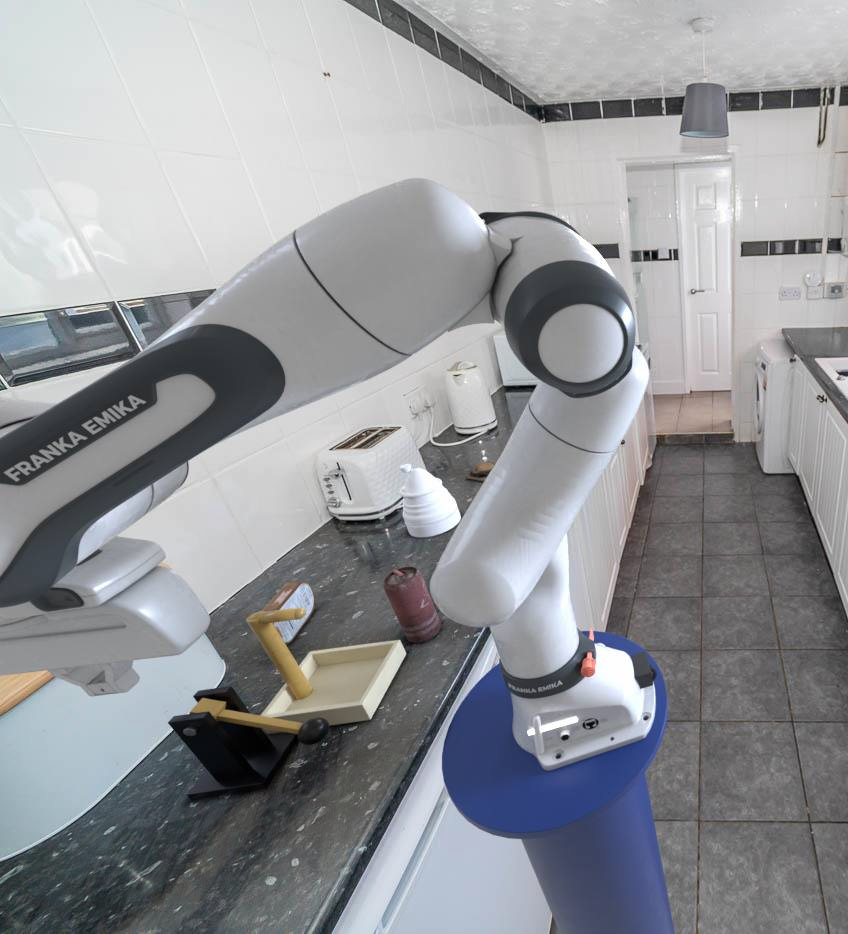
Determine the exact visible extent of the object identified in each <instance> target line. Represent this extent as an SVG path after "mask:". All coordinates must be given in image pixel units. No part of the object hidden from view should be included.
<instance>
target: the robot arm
mask: <svg viewBox="0 0 848 934" xmlns="http://www.w3.org/2000/svg"><path fill="white" fill-rule="evenodd" d="M495 321H496V322H498V323H499V324H500V325H501V327H502V329H503V331H504V332H505V337H506V340H507V341H506V342H507V343H508V346H509V348H510V350H511V352H512V353H513V354H514V356H515V357H516V358H517V360H518V361H519V362H520V363H521V365H522V366H523V367H524V368H525V369H526V370H527V371H528V372H529V373H530V374H531V375H532V376H533V377H535V378H537V379H538V380H539V381H538V383H537V384H536V386H535V388H534V390H533V392H532V393H531V396H530V397H529V399H528V402H527V403H526V406H525V407H524V410H523V411H522V414H521V415H520V417H519V419H518V421H517V423H516V425H515V427H514V429H513V431H512V433H511V435H510V436H509V439H508V441H507V443H506V445H505V446H504V449H503V450H502V452H501V454H500V456H499V457H498V458H497V461H496V462H495V463H494V464H495V466H494V467H493V469H492V470H491V472H490V473H489V475H488V477H487V478H486V480H485V481H483V483H482V485H481V486H480V488H479V490H478V491H477V493H476V494H475V496H474V498H473V499H472V501H471V502H470V504H469V506H468V508H467V510H466V511H465V513H464V515H463V517H461V519H460V521H459V523H458V524H457V527H456V528H455V530H454V532H453V534H452V535H451V537H450V539H449V541H448V542H447V544H446V546H445V548H444V550H443V552H442V554H441V556H440V558H439V560H438V561H437V564H436V566H435V569H434V571H433V573H432V575H431V577H430V581H429V594H430V597H431V599H432V602H433V603H434V605H435V606H436V607H437V608H438V610H439V611H440V612H441V613H442V614H443V615H444V616H445V617H446V618H447V619H449V620H451V621H453V622H454V623H457V624H460V625H462V626H465V627H471V628H489V630H490V633H491V635H492V639H493V642H494V644H495V647H496V650H497V654H498V656H499V659H498V664H499V665H500V670H501V674H502V677H503V680H504V682H505V685H506V688H507V689H508V690H509V691H510V693H511V698H512V705H513V725H512V728H513V735H514V738H515V740H516V742H517V743H518V744H519V746H520V747H521V748H523V749H524V750H525V751H527V752H529V753H531V754H533V755H534V756H535V757H536V758H537V760H538V761H539V763H540V765H541V766H542V768H543V769H545V770H547V771H551V770H554V769H557V768H560V767H563V766H566V765H569V764H572V763H575V762H578V761H581V760H584V759H587V758H590V757H592V756H595V755H598V754H601V753H604V752H607V751H610V750H613V749H616V748H619V747H622V746H625V745H628V744H631V743H634V742H637V741H640V740H642V739H644V738H645V737H646V736H647V734H648V732H649V731H650V729H651V726H652V724H653V720H654V716H655V709H656V694H655V686H654V682H653V681H654V680H655V678H656V676H657V670H656V669H655V668H654V667H653V666H651V665H649V661H648V657H647V653H648V652H647V650H645V651H644V652H641V653H637V654H634V655H631V657H630V656H629V655H628V654H627V653H626V652H624V651H620V650H617V649H613V648H609V647H606V646H605V645H604V644H602V643H596V644H595V643H594V635H593V631H594V630H593V627H590V629H589V631H590V636H589V638H588V637H586V636H585V635H584V634H583V633H582V632H581V631H582V630H580V629H579V628H578V627H577V622H576V618H575V614H574V608H573V604H572V599H571V594H570V593H571V592H570V562H569V561H570V560H569V542H568V531H569V530H570V527H571V526H572V524H573V523H574V520H575V519H576V518H577V516H578V514H579V512H580V510H581V509H582V507H583V505H584V503H585V502H586V501H587V498H588V496H589V495H590V493H591V492H592V490H593V488H594V487H595V485H596V483H598V480H599V479H600V477H601V476H602V474H603V472H604V471H605V469H606V468H607V466H608V464H609V463H610V461H611V460H612V458H613V456H614V455H615V453H616V452H617V450H618V448H619V447H620V445H621V444H622V441H623V440H624V438H625V436H626V435H627V433H628V431H629V429H630V427H631V425H632V423H633V421H634V419H635V417H636V415H637V413H638V411H639V408H640V405H641V403H642V401H643V399H644V397H645V396H644V395H645V393H646V391H647V387H648V384H649V380H650V369H649V365H648V362H647V359H646V358H645V356H644V354H643V353H642V351H641V350H640V349H639V348H638V347H637V345H636V335H637V334H636V330H637V329H636V320H635V313H634V310H633V306H632V303H631V300H630V298H629V295H628V294H627V292H626V290H625V288H624V286H623V285H622V284H621V283H620V282H619V280H618V279H617V278H616V276H615V274H614V273H613V271H612V269H611V267H610V266H609V265H608V263H607V261H606V260H605V259H604V258H603V256H602V255H601V253H600V252H599V251H598V250H597V248H595V247H594V246H593V245H592V244H590V243H589V242H587V241H586V240H585V239H584V238H583V236H582V235H581V234H580V233H579V232H578V231H577V229H575V228H574V227H573V226H572V225H571V224H569V223H568V222H566V220H563V219H562V218H560V217H558V216H555V215H553V214H551V213H547V212H542V211H537V210H522V211H521V210H520V211H514V212H513V211H512V212H511V211H483V212H480V213H479V214H478V213H477V212H476V210H474V209H473V208H472V207H471V206H470V204H469V203H467V202H466V201H465V200H464V199H463V198H462V197H461V196H459V195H458V194H457V193H455V192H454V191H452V189H450V188H448V187H446V186H445V185H443V184H441V183H439V182H437V181H435V180H431V179H428V178H421V177H410V178H406V179H402V180H399V181H395V182H393V183H390V184H387V185H383V186H381V187H378V188H376V189H373V190H371V191H368V192H366V193H363V194H361V195H358V196H355V197H354V198H351V199H349V200H346V201H345V202H342V203H340V204H338V205H336V206H334V207H331V208H330V209H328V210H326V211H325V212H322V213H321V214H319V215H317V216H315V217H314V218H312V219H311V220H309V221H307V222H305V223H304V224H302V225H300V226H298V227H297V228H296V229H293V230H292V231H290V232H289V233H287V234H286V235H285V236H283V237H281V238H280V239H279V240H277V241H276V242H274V243H273V244H271V246H269V247H267V248H266V249H265V250H264V251H262V252H261V253H260V254H259V255H257V256H256V257H254V258H253V259H252V260H251V261H249V262H248V263H247V264H245V265H244V266H243V267H241V268H240V270H238V271H237V272H235V274H234V275H232V276H231V277H229V279H228V280H227V281H225V282H224V283H223V284H222V285H221V286H219V287H218V288H217V289H216V290H215V291H214V292H212V294H210V295H209V296H208V297H207V298H205V300H203V301H202V302H201V303H200V304H198V305H197V306H196V307H194V308H193V309H192V310H191V311H190V312H188V313H187V314H185V316H183V317H182V318H181V319H179V320H178V321H177V322H176V323H174V324H173V325H172V326H170V328H168V329H167V330H166V331H165V332H164V333H162V334H161V335H159V337H157V338H156V339H155V340H154V341H152V342H151V343H150V344H149V345H147V346H146V347H145V348H143V349H142V350H141V351H140V352H138V353H137V354H135V356H133V357H132V358H131V359H129V360H127V361H125V362H124V363H123V364H122V363H121V365H119V366H117V367H115V368H114V369H112V370H111V371H109V372H108V373H106V374H104V375H103V376H101V377H100V378H98V379H96V380H94V381H93V382H92V383H89V384H88V385H86V386H84V387H83V388H81V389H80V390H78V391H76V392H74V393H73V394H71V395H69V396H68V397H66V398H64V399H63V400H61V401H59V402H58V403H56V402H45V401H34V400H25V399H19V398H14V397H13V398H12V397H6V396H0V676H10V675H11V676H12V675H20V674H28V673H36V672H44V671H45V672H46V671H47V672H48V673H49V675H51V676H52V677H54V678H57V679H59V680H62V681H65V682H67V683H70V684H72V685H74V686H77V687H80V688H81V689H82V690H83V691H84V692H85V693H86V694H87V695H88V696H89V697H99V696H107V695H116V694H124V693H128V692H129V691H130V690H131V689H133V688H134V687H135V686H136V685H137V684H138V683H140V679H141V677H140V675H139V673H138V672H137V671H136V670H135V669H134V668H133V667H134V666H133V664H134V661H139V660H149V659H156V658H166V657H175V656H179V655H181V654H183V653H185V652H186V651H187V650H188V649H190V647H191V646H193V645H194V644H195V643H196V642H197V641H198V640H199V639H200V638H201V637H203V635H204V634H206V633H207V631H208V629H209V626H210V623H211V616H210V614H209V612H208V611H207V609H206V607H205V605H204V604H203V603H202V601H201V600H200V598H199V597H198V596H197V594H196V592H194V590H193V588H191V586H190V585H189V584H188V583H187V581H186V580H185V579H184V578H183V577H182V576H181V575H180V574H179V573H177V572H176V571H174V570H173V569H171V568H169V567H166V566H162V565H160V564H161V563H162V562H163V561H164V560H165V559H166V558H167V555H166V553H165V551H164V549H163V548H162V546H161V545H160V544H159V543H157V542H155V541H153V540H147V539H140V538H134V537H133V538H132V537H127V536H126V537H125V536H119V535H120V534H121V533H123V532H124V531H125V530H128V528H130V527H131V526H132V525H134V524H135V523H137V522H138V521H139V520H141V519H142V518H144V517H145V516H147V515H148V514H149V513H150V512H152V511H153V510H155V509H156V508H157V507H158V506H160V505H162V504H163V503H164V502H165V501H166V500H168V499H169V498H170V497H171V496H172V495H173V494H175V492H177V490H179V489H180V488H181V487H182V486H183V484H185V482H186V480H187V478H188V475H189V472H190V471H189V470H190V467H189V466H190V465H189V461H190V460H192V459H194V458H195V457H197V456H198V455H200V454H202V453H204V452H206V451H207V450H209V449H211V448H212V447H214V446H216V445H218V444H221V443H222V442H225V441H226V440H229V439H230V438H233V437H235V436H236V435H239V434H241V433H244V432H245V431H248V430H249V429H252V428H254V427H257V426H259V425H262V424H264V423H267V422H268V421H271V420H273V419H275V418H278V417H281V416H283V415H285V414H288V413H291V412H294V411H296V410H298V409H301V408H303V407H305V406H307V405H311V404H312V403H315V402H318V401H320V400H323V399H325V398H328V397H330V396H333V395H336V394H338V393H340V392H343V391H346V390H348V389H350V388H352V387H354V386H357V385H360V384H361V383H365V382H367V381H368V380H371V379H373V378H375V377H376V376H379V375H381V374H382V373H384V372H386V371H389V370H391V369H393V368H394V367H396V366H399V364H401V363H403V362H404V361H406V360H408V359H409V358H411V357H412V356H414V355H415V354H418V352H421V350H423V349H425V348H427V346H429V345H431V344H432V343H434V342H435V341H436V340H438V339H439V338H441V336H443V335H444V334H445V333H447V332H448V333H450V332H452V331H454V330H457V329H460V328H463V327H467V326H471V325H479V324H480V325H481V324H491V325H492V324H495ZM646 652H647V653H646ZM631 658H632V659H631ZM651 671H652V672H653V675H652V672H651ZM645 719H648V720H646V721H644V720H645ZM559 756H561V758H559V759H557V758H558V757H559Z"/></svg>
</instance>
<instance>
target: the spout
mask: <svg viewBox="0 0 848 934" xmlns="http://www.w3.org/2000/svg"><path fill="white" fill-rule="evenodd" d="M305 615H306V610H305V609H304V608H291V609H283V610H275V611H267V612H265V611H262V610H258V611H255V612H253V613H251V614H250V615H248V617H247V618H246V620H245V621H246V623H247V624H248V626H249V628H250V629H251V631H252V632H253V634H254V636H255V637H256V639H257V641H258V640H259V641H258V643H259V642H260V643H261V644H260V643H259V644H260V646H261V647H262V648H263V650H264V651H265V653H266V654H267V656H268V657H269V659H270V660H271V662H272V664H273V665H274V667H275V669H276V670H277V672H278V673H279V675H280V676H281V678H282V679H283V681H284V683H286V684H287V686H288V687H289V689H290V690H291V692H292V693H293V695H294V697H295V698H296V699H297V700H301V699H304V698H306V697H308V696H309V695H310V694H311V693H312V691H313V689H312V687H311V685H310V684H309V682H308V680H307V679H306V677H305V675H304V674H303V672H302V671H301V669H300V667H299V664H298V662H297V661H296V659H295V658H294V655H293V654H292V653H291V652H292V651H290V649H289V648H288V646H287V645H286V644H285V643H284V641H283V639H282V638H281V636H280V634H279V633H278V631H277V629H276V628H275V626H274V624H273V623H275V622H283V621H291V620H298V619H302V618H303V617H304V616H305Z"/></svg>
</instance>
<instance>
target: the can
mask: <svg viewBox="0 0 848 934" xmlns="http://www.w3.org/2000/svg"><path fill="white" fill-rule="evenodd" d="M382 587H383V589H384V592H385V594H386V596H387V599H388V601H389V603H390V605H391V607H392V609H393V612H394V614H395V616H396V618H397V620H398V623H399V625H400V627H401V629H402V631H403V634H404V635H405V638H406V640H407V641H409V642H410V643H414V644H420V643H421V644H422V643H424V642H427V641H429V640H431V639H432V638H434V637H435V636H436V635H438V633H439V632H440V629H441V627H442V622H441V619H440V617H439V614H438V612H437V610H436V607H435V603H434V601H433V599H432V596H431V593H430V591H429V590H428V587H427V584H426V582H425V580H424V577H423V574H422V573H421V571H420V570H419V569H417V568H416V567H414V566H403V567H399V568H397V569H393V570H392V571H391V572H390V573H388V574H387V575H386V576H385V578H383V585H382Z"/></svg>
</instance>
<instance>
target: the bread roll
mask: <svg viewBox="0 0 848 934" xmlns="http://www.w3.org/2000/svg"><path fill="white" fill-rule="evenodd" d="M495 464H496V463H493V462H491V461H485V462H481V463H479V464H478V465H476V466H475V467H474V468H473V470H471V471H470V472H469V475H468V476H467V477H466V478H467V479H469V480H473V481H474V480H475V481H479V482H485V480H486V478H487V477H488V475H489V473H490V472H491V470H492V469H493V467H494V466H495Z"/></svg>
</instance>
